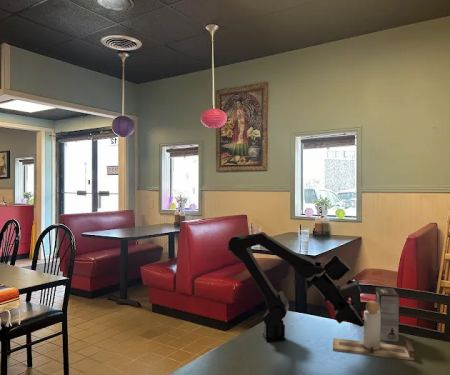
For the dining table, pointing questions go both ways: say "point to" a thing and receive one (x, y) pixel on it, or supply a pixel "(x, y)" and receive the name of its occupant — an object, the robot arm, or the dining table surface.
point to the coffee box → (388, 313)
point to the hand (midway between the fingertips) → (363, 325)
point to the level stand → (384, 350)
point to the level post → (372, 326)
